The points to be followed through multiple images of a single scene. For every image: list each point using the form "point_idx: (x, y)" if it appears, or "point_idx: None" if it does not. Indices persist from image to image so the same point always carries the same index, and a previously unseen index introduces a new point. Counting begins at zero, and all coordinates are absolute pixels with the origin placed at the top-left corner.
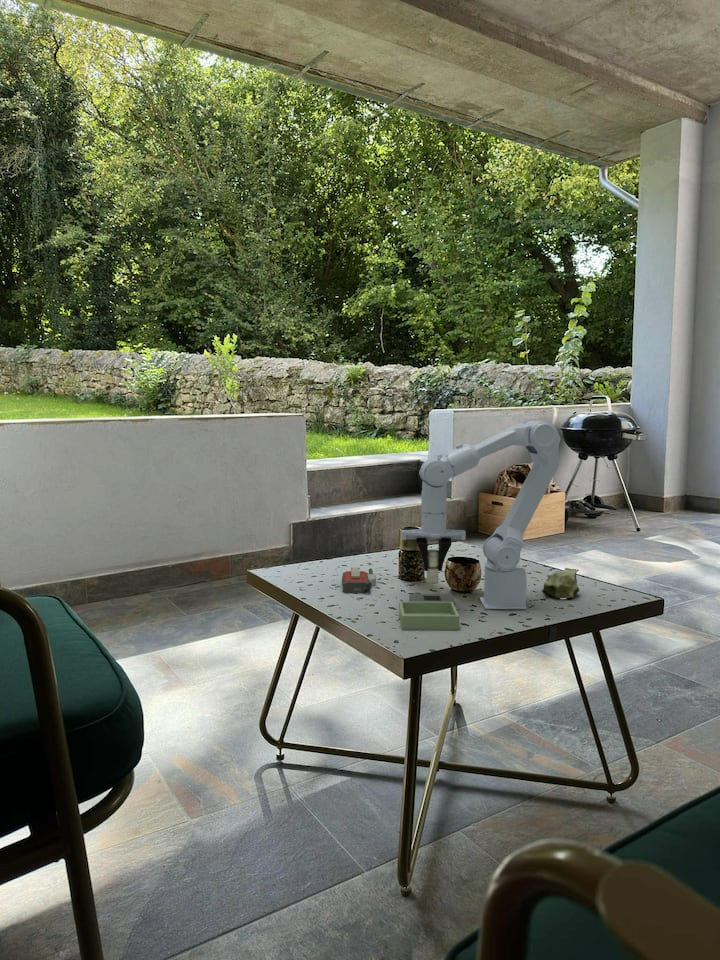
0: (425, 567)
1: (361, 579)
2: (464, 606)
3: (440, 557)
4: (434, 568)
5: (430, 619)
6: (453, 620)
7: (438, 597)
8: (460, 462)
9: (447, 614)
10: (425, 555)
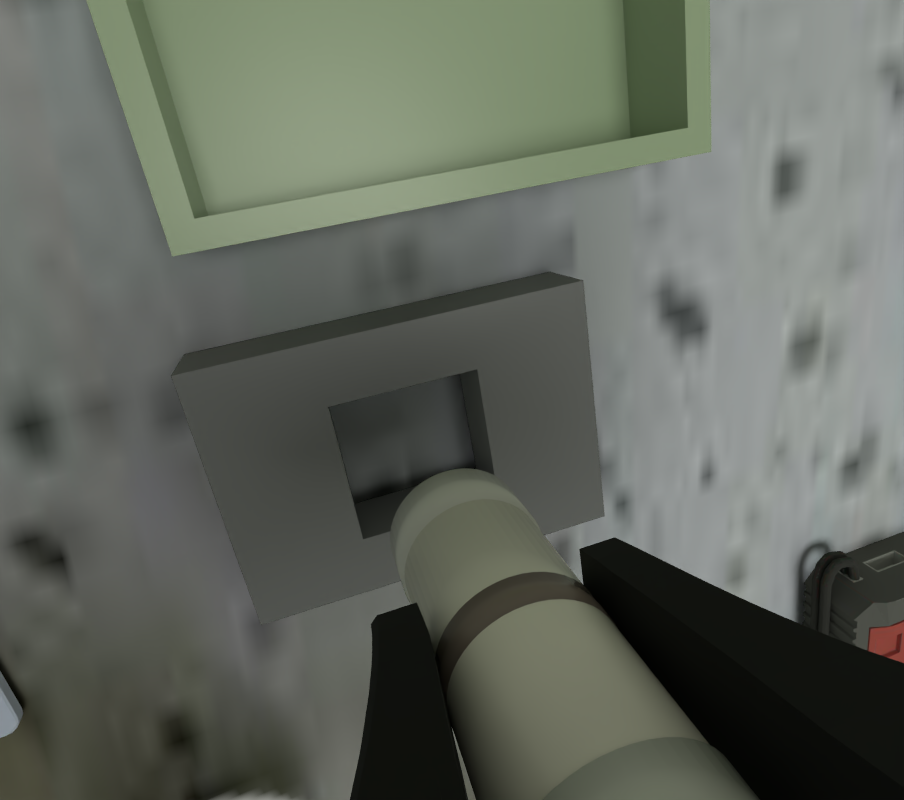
0: (643, 557)
1: (901, 655)
2: (128, 509)
3: (459, 789)
4: (498, 591)
5: None
6: None
7: (367, 528)
8: None
9: (228, 160)
10: (832, 686)
